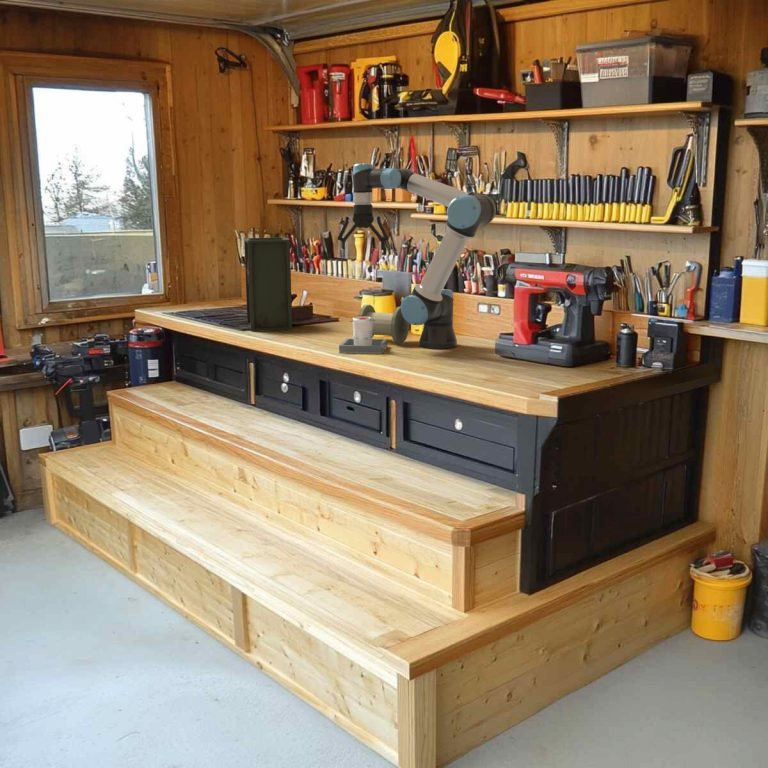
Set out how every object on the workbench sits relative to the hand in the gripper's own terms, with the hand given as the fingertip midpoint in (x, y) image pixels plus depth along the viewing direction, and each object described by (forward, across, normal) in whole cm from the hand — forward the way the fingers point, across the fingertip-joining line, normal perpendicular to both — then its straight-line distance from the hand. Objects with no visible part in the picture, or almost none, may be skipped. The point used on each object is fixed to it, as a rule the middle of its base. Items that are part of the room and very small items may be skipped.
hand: (363, 258), depth 362 cm
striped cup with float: (+34, -1, +12) cm, 36 cm away
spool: (+35, -7, -7) cm, 36 cm away
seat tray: (+35, -1, +12) cm, 37 cm away
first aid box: (+35, +50, -41) cm, 74 cm away
